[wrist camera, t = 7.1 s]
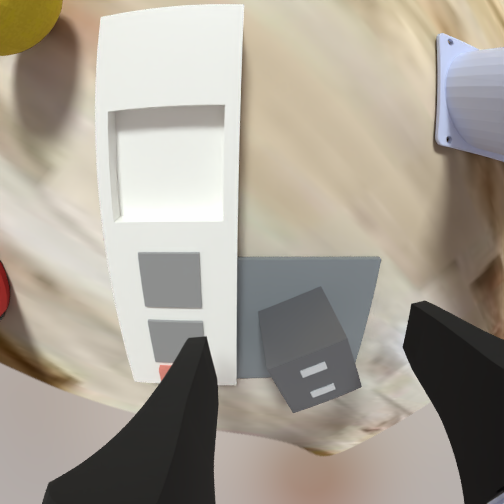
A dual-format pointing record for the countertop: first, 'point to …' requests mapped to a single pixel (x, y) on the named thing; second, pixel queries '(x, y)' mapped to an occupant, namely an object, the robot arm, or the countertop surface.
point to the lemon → (26, 23)
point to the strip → (171, 179)
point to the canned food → (3, 292)
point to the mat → (293, 284)
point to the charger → (307, 350)
